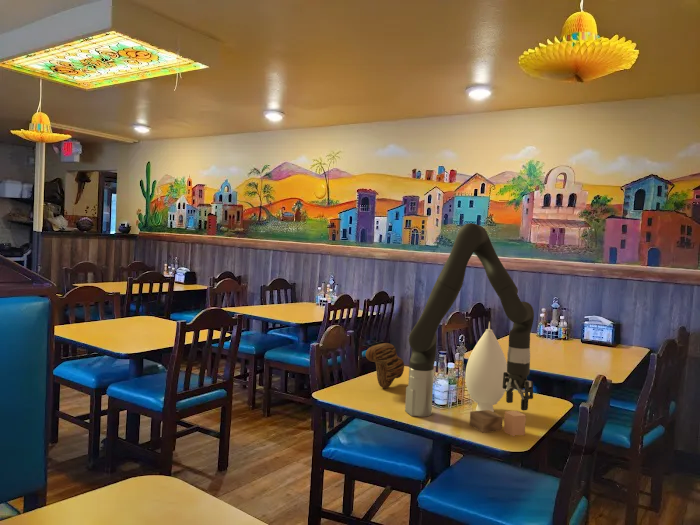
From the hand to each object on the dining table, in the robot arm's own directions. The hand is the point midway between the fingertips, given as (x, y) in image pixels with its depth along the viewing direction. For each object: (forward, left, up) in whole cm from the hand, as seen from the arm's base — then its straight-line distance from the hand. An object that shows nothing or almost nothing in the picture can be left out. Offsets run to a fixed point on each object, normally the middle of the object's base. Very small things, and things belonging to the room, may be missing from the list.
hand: (516, 406), depth 190 cm
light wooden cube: (0, 0, -10) cm, 10 cm away
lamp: (+3, +24, -10) cm, 26 cm away
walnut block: (-7, +7, -10) cm, 14 cm away
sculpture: (-26, +59, -10) cm, 65 cm away
